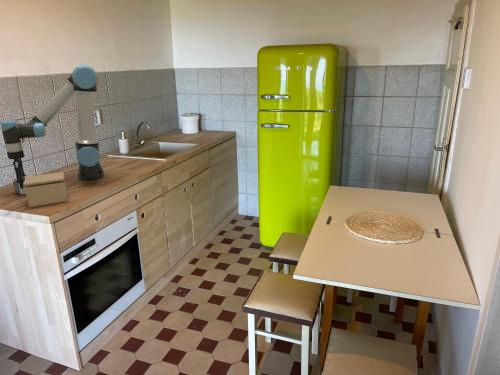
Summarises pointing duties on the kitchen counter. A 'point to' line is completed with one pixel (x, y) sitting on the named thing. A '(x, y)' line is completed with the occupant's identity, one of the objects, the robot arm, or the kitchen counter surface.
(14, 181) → the block
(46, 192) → the box
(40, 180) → the lid
